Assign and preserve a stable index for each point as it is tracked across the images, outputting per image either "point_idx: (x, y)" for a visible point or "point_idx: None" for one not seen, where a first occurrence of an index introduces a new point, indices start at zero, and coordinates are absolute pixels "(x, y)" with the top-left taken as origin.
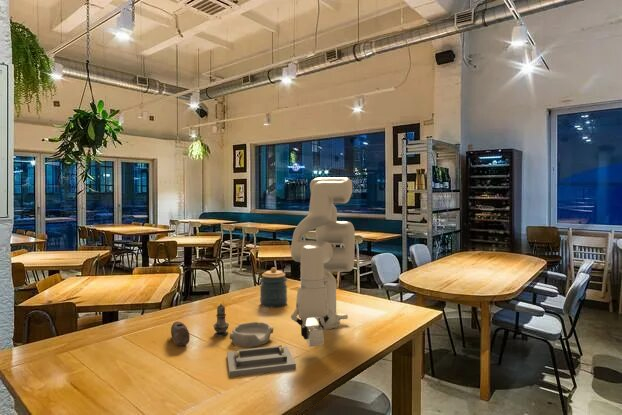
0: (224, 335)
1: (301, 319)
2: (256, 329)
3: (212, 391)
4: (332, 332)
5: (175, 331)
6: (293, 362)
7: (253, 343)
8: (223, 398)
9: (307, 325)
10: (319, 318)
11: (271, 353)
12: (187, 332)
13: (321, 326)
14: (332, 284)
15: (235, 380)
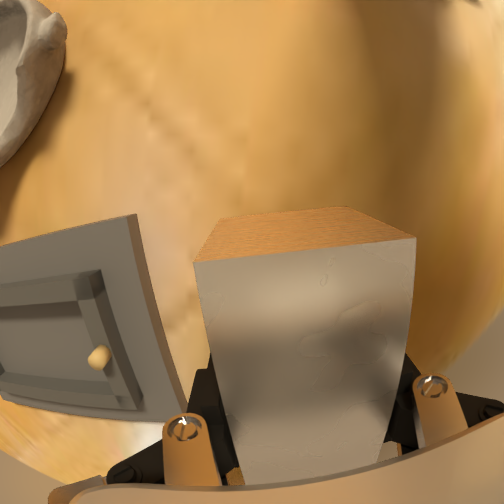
0: None
1: (175, 480)
2: (14, 21)
3: (16, 433)
4: (423, 16)
5: None
6: (173, 411)
7: None
8: (48, 461)
9: (252, 458)
10: (425, 430)
11: (62, 306)
12: None
13: (387, 440)
14: None
15: (30, 413)
